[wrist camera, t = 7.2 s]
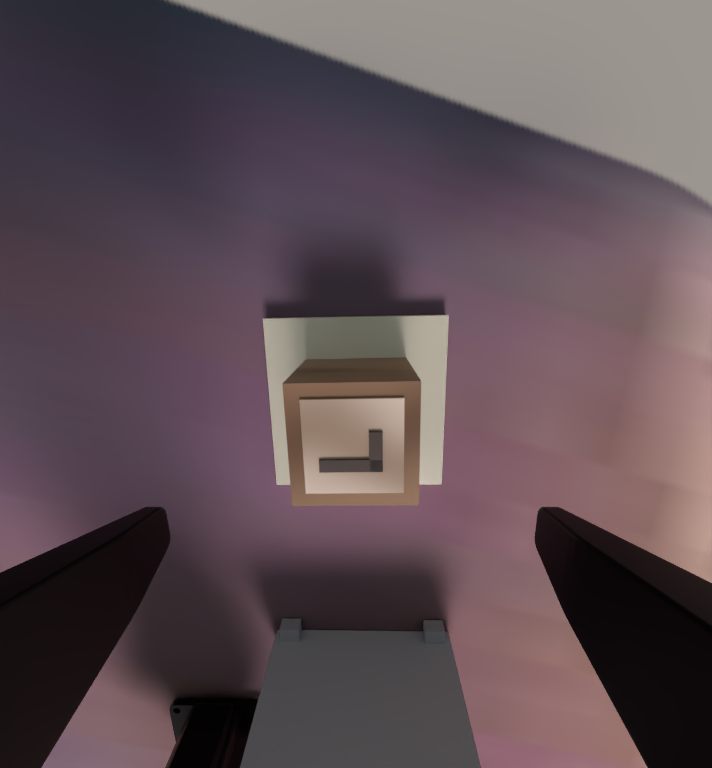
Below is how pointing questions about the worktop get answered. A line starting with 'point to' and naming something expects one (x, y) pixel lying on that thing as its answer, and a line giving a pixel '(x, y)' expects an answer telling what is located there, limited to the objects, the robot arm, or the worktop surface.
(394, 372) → the letter cube
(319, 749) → the screen
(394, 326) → the coaster
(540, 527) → the robot arm
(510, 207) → the worktop surface
